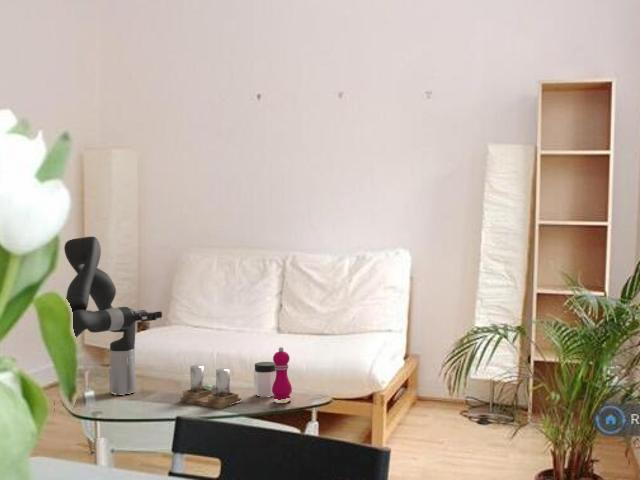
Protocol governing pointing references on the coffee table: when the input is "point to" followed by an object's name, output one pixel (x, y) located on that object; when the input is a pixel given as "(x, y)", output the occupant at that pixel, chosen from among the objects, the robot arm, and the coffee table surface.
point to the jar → (264, 378)
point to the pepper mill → (281, 376)
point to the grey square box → (213, 389)
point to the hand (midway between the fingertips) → (153, 313)
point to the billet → (197, 378)
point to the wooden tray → (209, 398)
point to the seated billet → (223, 382)
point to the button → (208, 386)
